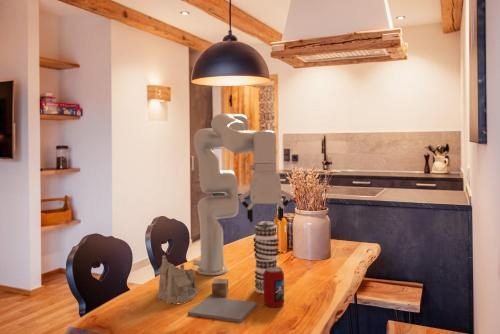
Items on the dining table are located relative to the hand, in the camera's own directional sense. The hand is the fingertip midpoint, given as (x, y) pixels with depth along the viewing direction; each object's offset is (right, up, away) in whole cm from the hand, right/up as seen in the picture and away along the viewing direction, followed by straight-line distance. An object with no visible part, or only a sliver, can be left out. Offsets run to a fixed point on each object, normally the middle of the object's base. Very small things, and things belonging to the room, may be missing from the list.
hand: (265, 220), depth 146 cm
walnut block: (-16, -28, +13) cm, 35 cm away
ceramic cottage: (-30, -28, +13) cm, 43 cm away
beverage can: (+3, -28, +3) cm, 29 cm away
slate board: (-14, -29, -2) cm, 32 cm away
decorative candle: (+1, -28, +17) cm, 33 cm away
